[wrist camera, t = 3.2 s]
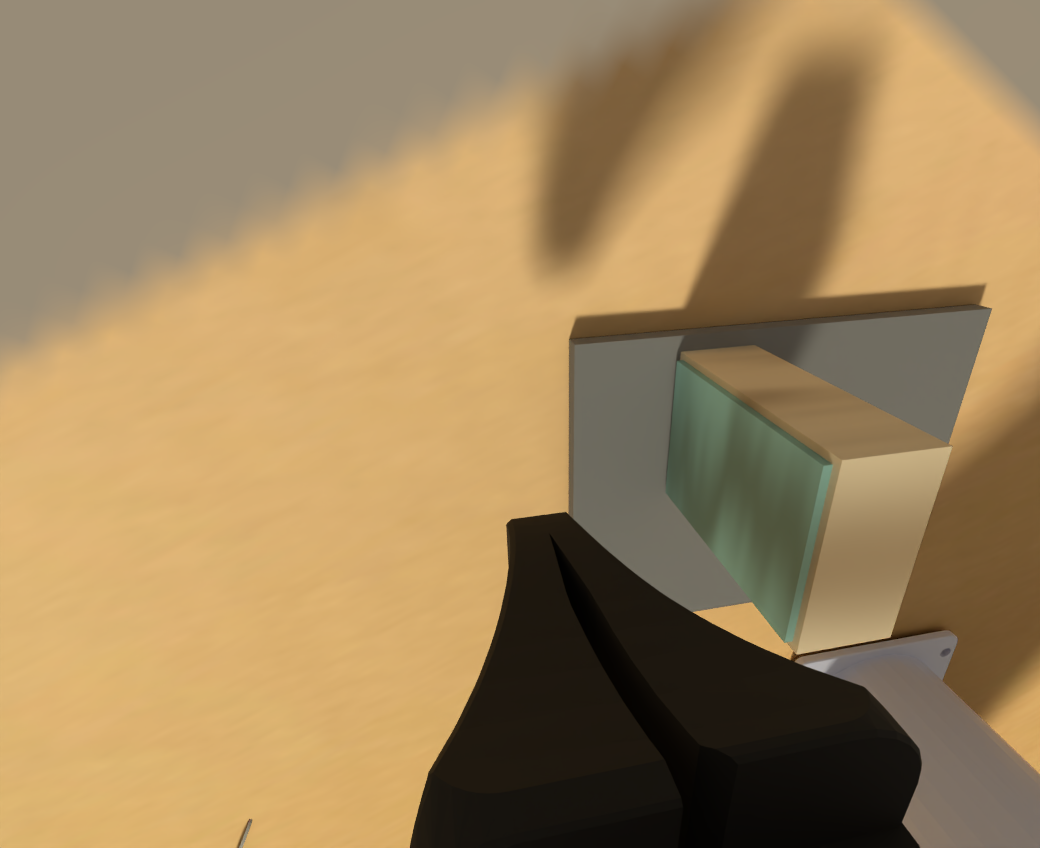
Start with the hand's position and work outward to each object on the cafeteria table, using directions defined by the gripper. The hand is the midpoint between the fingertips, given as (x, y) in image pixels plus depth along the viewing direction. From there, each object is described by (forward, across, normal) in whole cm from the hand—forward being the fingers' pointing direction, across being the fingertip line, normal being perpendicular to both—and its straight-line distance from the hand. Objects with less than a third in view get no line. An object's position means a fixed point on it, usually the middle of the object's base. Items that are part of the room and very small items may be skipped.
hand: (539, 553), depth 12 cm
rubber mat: (+6, -9, +2) cm, 11 cm away
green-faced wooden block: (+5, -7, 0) cm, 9 cm away
